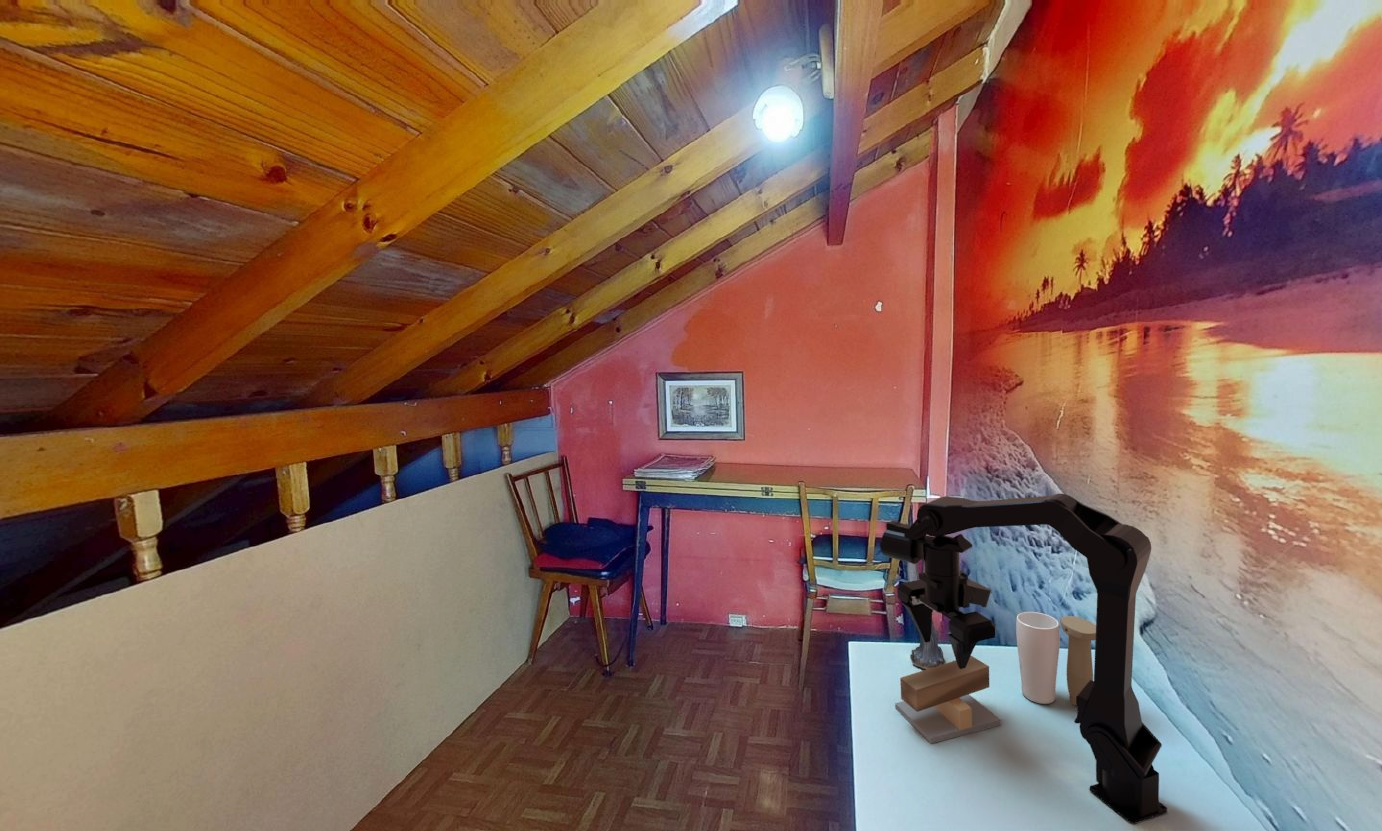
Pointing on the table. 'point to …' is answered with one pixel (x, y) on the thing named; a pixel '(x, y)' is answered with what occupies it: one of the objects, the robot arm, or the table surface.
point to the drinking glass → (1038, 655)
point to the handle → (1078, 653)
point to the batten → (943, 683)
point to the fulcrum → (949, 718)
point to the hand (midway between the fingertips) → (943, 654)
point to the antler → (926, 652)
